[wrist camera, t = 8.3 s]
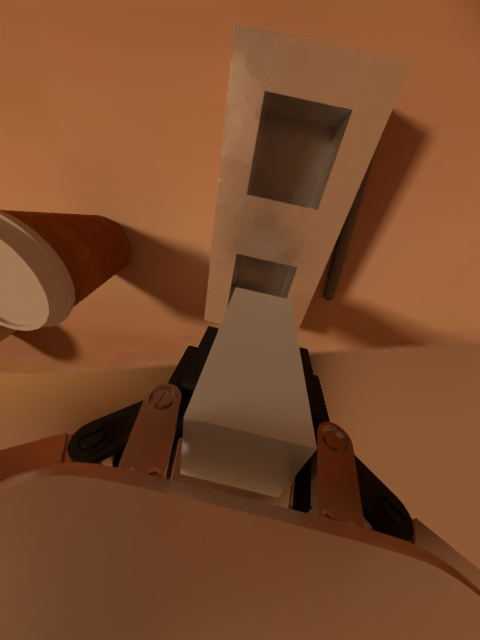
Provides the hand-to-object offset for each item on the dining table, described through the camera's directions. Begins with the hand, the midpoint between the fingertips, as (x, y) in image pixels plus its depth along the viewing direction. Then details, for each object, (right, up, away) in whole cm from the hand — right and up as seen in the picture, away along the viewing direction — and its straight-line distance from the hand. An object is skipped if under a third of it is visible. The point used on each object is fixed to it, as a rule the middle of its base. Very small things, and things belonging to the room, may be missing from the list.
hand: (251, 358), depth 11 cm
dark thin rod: (+10, +11, +9) cm, 17 cm away
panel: (+3, +12, +9) cm, 15 cm away
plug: (+1, +2, +4) cm, 5 cm away
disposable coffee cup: (-17, +11, +13) cm, 24 cm away
